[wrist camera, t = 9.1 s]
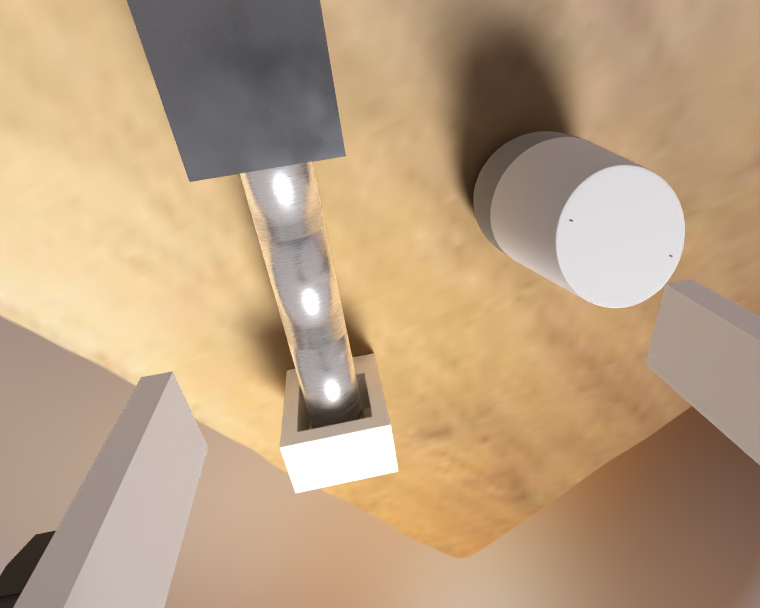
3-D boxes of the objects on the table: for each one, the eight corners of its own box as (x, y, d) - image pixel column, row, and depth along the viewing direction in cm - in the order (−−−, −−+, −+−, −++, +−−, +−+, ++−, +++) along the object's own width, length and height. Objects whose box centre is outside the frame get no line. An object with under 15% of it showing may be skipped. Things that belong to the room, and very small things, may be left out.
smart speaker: (595, 151, 33) (760, 187, 21) (540, 256, 37) (654, 338, 25) (493, 109, 31) (613, 121, 19) (445, 225, 34) (518, 300, 22)
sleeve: (183, 23, 26) (124, -7, 18) (313, 5, 27) (314, -33, 18) (223, 157, 30) (189, 181, 22) (336, 138, 30) (345, 156, 22)
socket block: (286, 370, 39) (279, 447, 30) (374, 353, 39) (390, 424, 31) (299, 410, 41) (295, 493, 33) (381, 394, 41) (398, 471, 33)
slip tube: (225, 99, 25) (209, 100, 21) (299, 87, 26) (296, 87, 22) (314, 418, 38) (314, 457, 34) (363, 408, 38) (370, 445, 34)
